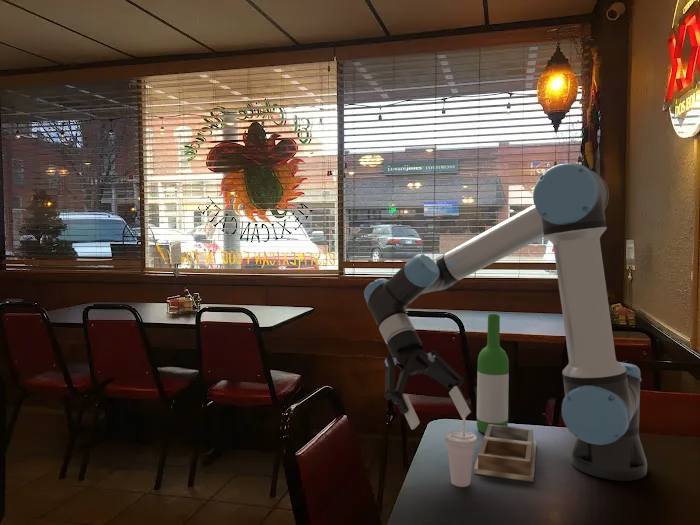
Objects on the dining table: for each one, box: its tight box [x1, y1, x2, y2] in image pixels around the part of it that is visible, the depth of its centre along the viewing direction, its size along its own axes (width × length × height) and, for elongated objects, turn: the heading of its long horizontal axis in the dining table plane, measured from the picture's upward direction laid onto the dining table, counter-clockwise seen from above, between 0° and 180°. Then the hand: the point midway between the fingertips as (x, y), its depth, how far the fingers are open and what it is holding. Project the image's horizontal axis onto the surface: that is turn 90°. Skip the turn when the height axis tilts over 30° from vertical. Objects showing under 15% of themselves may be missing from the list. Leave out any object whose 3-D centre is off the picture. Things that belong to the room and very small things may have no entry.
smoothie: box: [444, 415, 478, 488], centre depth 116 cm, size 6×6×14 cm
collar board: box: [473, 424, 537, 483], centre depth 128 cm, size 12×21×4 cm, turn 160°
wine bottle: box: [476, 313, 510, 435], centre depth 145 cm, size 8×8×30 cm
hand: (442, 420), depth 120 cm, fingers open, 13 cm apart
